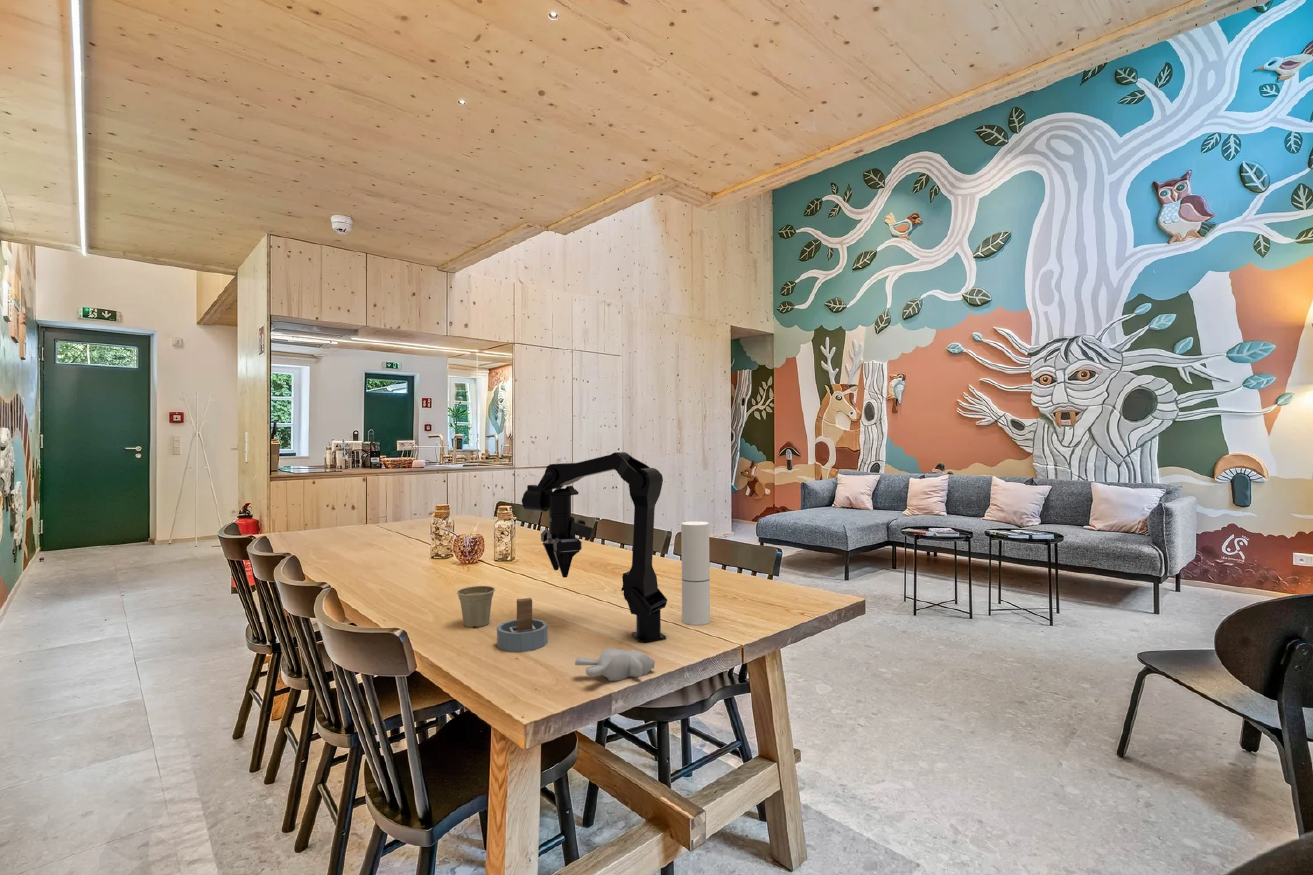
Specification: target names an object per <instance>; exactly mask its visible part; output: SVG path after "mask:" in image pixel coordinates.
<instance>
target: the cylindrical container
mask: <svg viewBox="0 0 1313 875" xmlns="http://www.w3.org/2000/svg"><path fill="white" fill-rule="evenodd" d="M680 525H681V526H680V527H681V528H680V529H681V530H680V531H681V532H680V533H681V537H680V538H681V539H680V540H681V541H680V542H681V545H680V546H681V621H682V623H684V624H686V625H691V626H692V625H693V626H702V625H706V624H709V623H710V622H711V594H710V593H711V589H710V588H711V586H710V585H711V584H710V583H711V580H710V578H711V576H710V572H711V571H710V568H711V566H710V564H711V563H710V522H708V521H700V520H699V521H696V520H695V521H694V520H693V521H692V520H691V521H684V522H683V521H682V522H681V524H680Z"/></svg>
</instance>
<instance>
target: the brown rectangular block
mask: <svg viewBox="0 0 1313 875" xmlns="http://www.w3.org/2000/svg"><path fill="white" fill-rule="evenodd" d="M532 619H533V599H532V598H531V597H527V598H517V599H516V620H517V631H519V630H526V629H532Z"/></svg>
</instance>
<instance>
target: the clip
mask: <svg viewBox="0 0 1313 875" xmlns="http://www.w3.org/2000/svg"><path fill="white" fill-rule="evenodd" d="M534 630H536V628H535V627H534V626H533V624H532V629H526V630H519V631H517V626H516V627H509V632H519V633H521V632H529V631H534Z"/></svg>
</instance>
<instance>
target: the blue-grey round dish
mask: <svg viewBox="0 0 1313 875" xmlns="http://www.w3.org/2000/svg"><path fill="white" fill-rule="evenodd" d="M532 624H533V626H534V627H535V628H536V630H534V631H529V632H521V633H519V632H509V627H516V626H517V619H511V620H508V621H505V622H501V623H500V624H499V625H497V627H496V646H497V647H498V649H499V650H501V651H505V652H513V653H515V652H517V653H521V652H522V653H523V652H529V651H535V650H537V649H540V648H543V647H545V646H546V645H547V643H548V642H549V639H548V634H549V632H548V631H549V630H548V629H549V628H548V626H549V625H548V623H547V622H546V621H545V620H541V619H537V618H532Z"/></svg>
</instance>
